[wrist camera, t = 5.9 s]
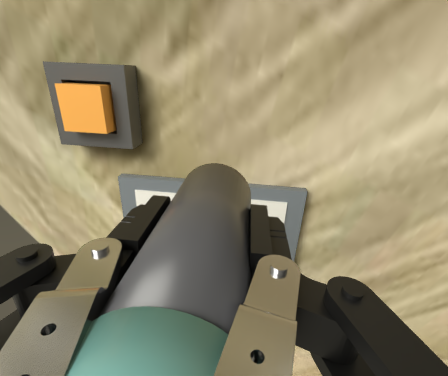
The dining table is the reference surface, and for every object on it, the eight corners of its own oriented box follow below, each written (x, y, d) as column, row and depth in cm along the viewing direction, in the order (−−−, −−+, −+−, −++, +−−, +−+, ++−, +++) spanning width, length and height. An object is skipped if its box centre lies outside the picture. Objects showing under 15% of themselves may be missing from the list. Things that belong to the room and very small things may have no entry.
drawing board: (305, 188, 29) (308, 193, 28) (286, 291, 36) (287, 299, 35) (121, 173, 31) (116, 177, 30) (135, 274, 38) (131, 281, 37)
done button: (111, 84, 25) (99, 85, 23) (117, 129, 27) (107, 133, 25) (68, 82, 26) (54, 83, 24) (77, 127, 27) (64, 131, 26)
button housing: (135, 65, 26) (123, 64, 24) (142, 143, 29) (132, 149, 27) (61, 62, 27) (42, 61, 24) (76, 138, 30) (61, 144, 28)
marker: (256, 164, 13) (284, 652, 2) (249, 231, 15) (242, 700, 4) (178, 158, 13) (-167, 556, 2) (180, 224, 15) (-17, 641, 4)
